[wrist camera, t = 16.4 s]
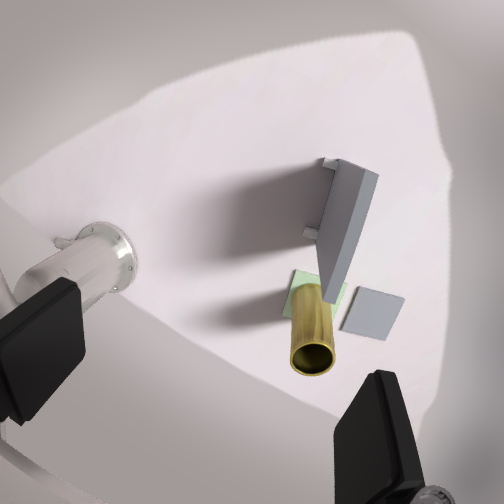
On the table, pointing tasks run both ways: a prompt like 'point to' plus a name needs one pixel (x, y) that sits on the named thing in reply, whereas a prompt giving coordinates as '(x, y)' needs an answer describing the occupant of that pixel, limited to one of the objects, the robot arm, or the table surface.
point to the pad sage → (308, 278)
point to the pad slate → (372, 313)
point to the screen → (341, 223)
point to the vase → (311, 332)
